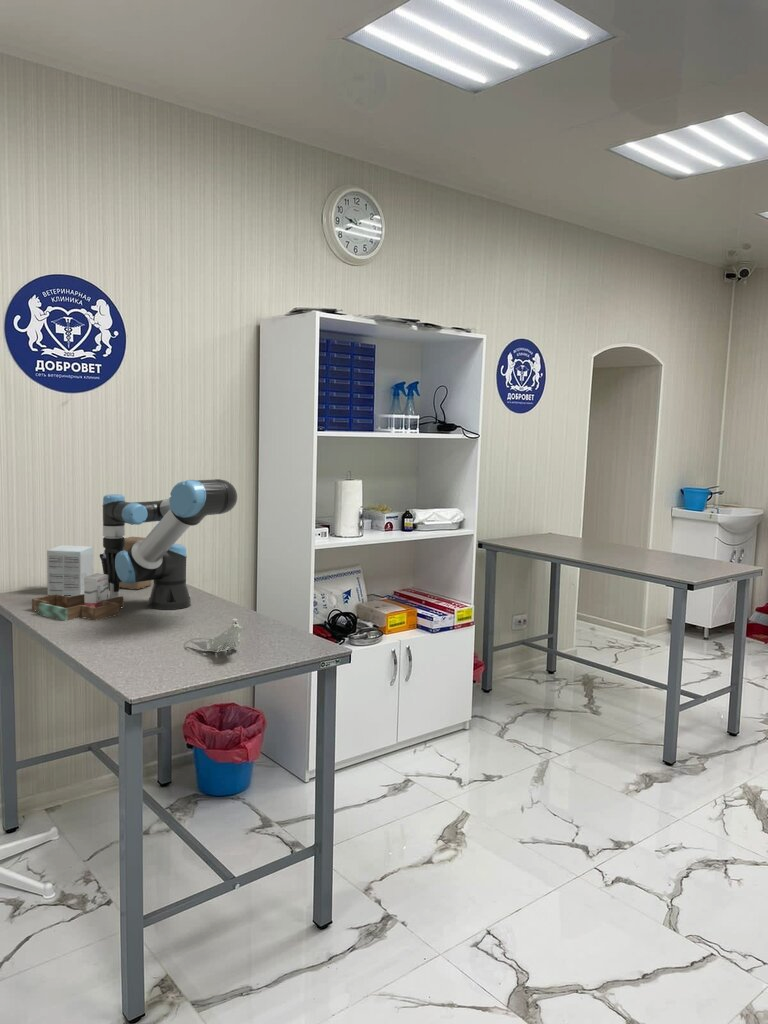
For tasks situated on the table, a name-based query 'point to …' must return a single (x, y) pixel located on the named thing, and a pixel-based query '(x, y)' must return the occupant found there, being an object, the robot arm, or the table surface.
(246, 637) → the table surface
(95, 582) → the ink box
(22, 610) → the table surface
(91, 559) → the supplement box
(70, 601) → the brown wooden tray
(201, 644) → the bird figurine
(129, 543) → the block
